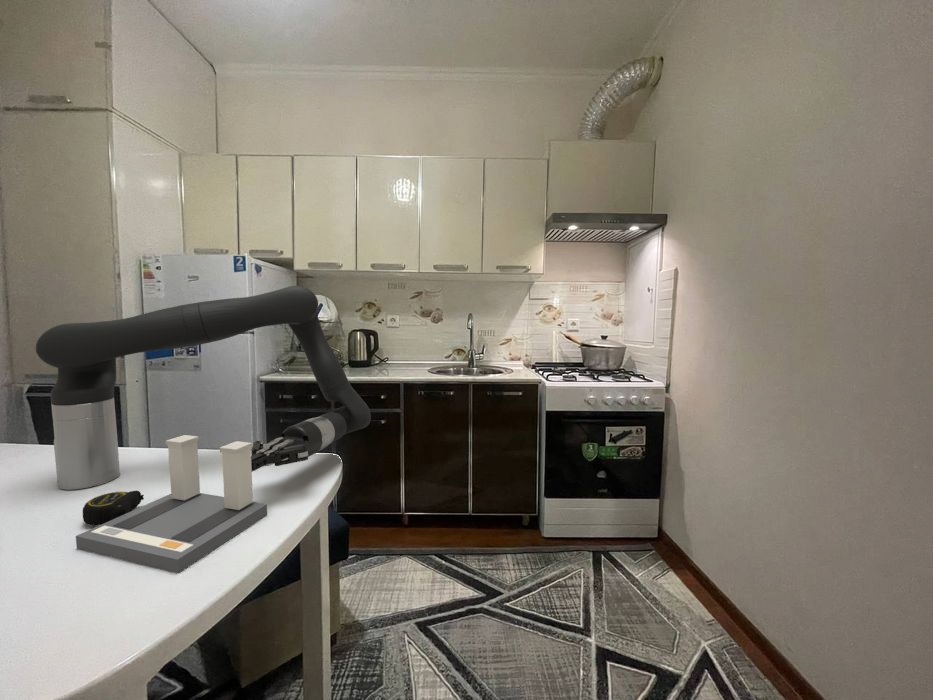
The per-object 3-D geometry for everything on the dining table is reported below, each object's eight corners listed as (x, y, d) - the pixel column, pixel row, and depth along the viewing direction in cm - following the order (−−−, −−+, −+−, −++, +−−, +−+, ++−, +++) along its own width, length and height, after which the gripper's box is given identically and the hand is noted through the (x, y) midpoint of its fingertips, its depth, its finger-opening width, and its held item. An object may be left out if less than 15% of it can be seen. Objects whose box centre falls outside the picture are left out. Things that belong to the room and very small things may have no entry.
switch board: (76, 548, 58) (75, 534, 58) (180, 499, 73) (180, 488, 73) (178, 573, 53) (177, 558, 52) (267, 514, 68) (266, 503, 68)
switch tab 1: (169, 498, 69) (165, 440, 68) (187, 490, 72) (184, 434, 71) (184, 501, 68) (180, 442, 67) (201, 492, 71) (198, 436, 70)
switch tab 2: (222, 508, 66) (219, 447, 65) (239, 498, 69) (236, 441, 68) (238, 510, 65) (235, 449, 64) (254, 501, 68) (252, 443, 67)
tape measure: (124, 526, 64) (123, 505, 64) (73, 533, 62) (71, 510, 62) (144, 506, 71) (143, 487, 70) (98, 512, 69) (97, 492, 68)
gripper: (283, 418, 86) (214, 442, 69) (334, 423, 82) (275, 450, 66) (284, 450, 87) (216, 482, 70) (335, 457, 83) (276, 492, 66)
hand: (244, 467), depth 68 cm, fingers closed
